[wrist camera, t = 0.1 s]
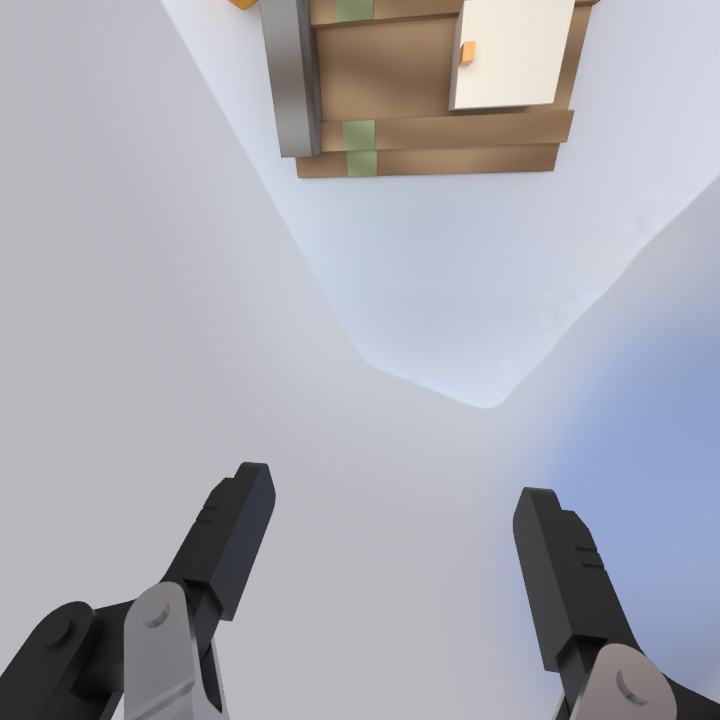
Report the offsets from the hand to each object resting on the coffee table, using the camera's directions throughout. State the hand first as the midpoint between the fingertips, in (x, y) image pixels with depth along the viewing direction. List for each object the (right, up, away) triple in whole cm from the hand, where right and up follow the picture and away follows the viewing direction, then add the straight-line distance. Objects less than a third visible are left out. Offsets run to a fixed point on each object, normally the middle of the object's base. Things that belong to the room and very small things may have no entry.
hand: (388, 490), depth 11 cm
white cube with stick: (+9, +26, +15) cm, 31 cm away
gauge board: (+4, +27, +17) cm, 32 cm away
